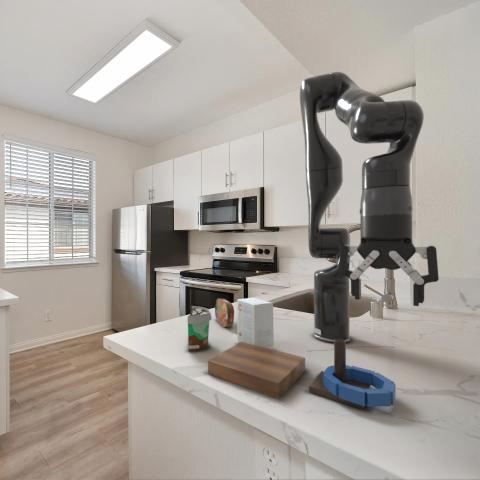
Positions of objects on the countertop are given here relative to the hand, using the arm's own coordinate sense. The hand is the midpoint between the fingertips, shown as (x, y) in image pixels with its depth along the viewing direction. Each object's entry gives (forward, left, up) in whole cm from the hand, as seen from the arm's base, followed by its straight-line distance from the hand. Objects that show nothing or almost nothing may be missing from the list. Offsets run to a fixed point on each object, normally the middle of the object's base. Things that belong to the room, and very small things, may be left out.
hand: (385, 301), depth 55 cm
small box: (-11, -30, -19) cm, 37 cm away
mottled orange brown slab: (-25, -48, -19) cm, 57 cm away
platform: (+3, -23, -19) cm, 30 cm away
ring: (0, -4, -18) cm, 18 cm away
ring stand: (0, -7, -19) cm, 20 cm away
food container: (-2, -42, -19) cm, 46 cm away
